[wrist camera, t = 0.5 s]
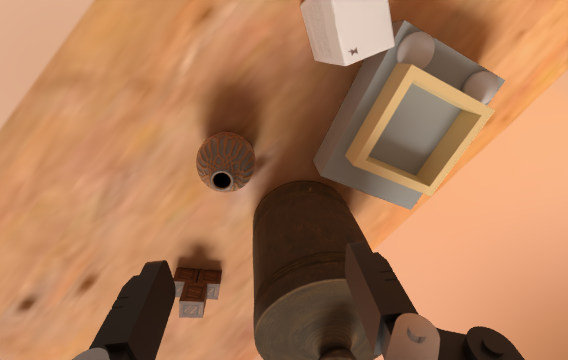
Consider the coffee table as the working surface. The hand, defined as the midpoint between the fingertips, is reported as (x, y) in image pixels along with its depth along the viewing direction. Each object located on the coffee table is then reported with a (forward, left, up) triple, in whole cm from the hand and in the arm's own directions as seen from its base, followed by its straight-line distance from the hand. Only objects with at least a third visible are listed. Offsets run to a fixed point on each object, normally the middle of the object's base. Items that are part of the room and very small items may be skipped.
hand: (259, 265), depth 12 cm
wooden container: (+12, +12, -25) cm, 30 cm away
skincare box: (-13, +3, -25) cm, 28 cm away
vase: (+5, -2, -25) cm, 26 cm away
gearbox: (-7, +16, -25) cm, 30 cm away
